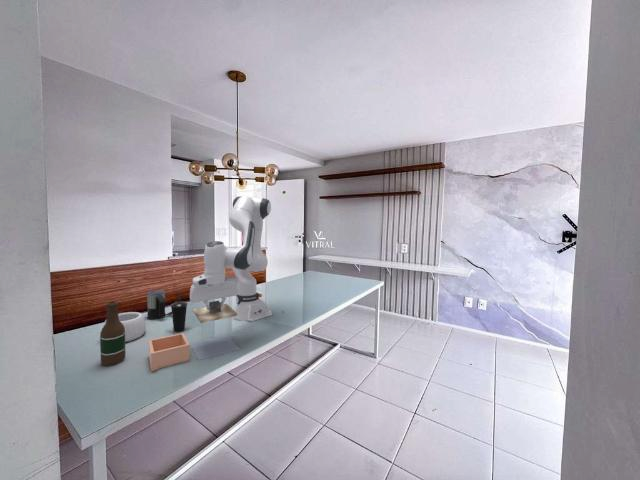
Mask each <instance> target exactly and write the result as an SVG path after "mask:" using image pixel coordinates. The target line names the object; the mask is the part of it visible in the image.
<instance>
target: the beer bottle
mask: <svg viewBox="0 0 640 480" xmlns="http://www.w3.org/2000/svg"><path fill="white" fill-rule="evenodd" d="M118 305H119V303H118V301H109V302H107V303H106V305H105V306H106V319H105V321H106V324H105V326H104V327H103V326H102V328H101V331H100V333H99V334H100V335H99V340H100V341H99V344H100V345H99V347H100V364H101V365H102V366H105V367H110V366H116V365H117V364H120V363H122V362H123V361H124V360H125V358H126V342H125V327H124V325H123V324H122V323H121V322H120V321H119V316H118V314H119V308H118Z"/></svg>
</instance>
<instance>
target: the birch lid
mask: <svg viewBox="0 0 640 480" xmlns="http://www.w3.org/2000/svg"><path fill="white" fill-rule="evenodd" d="M208 305H211V309H209V310H207V309H206V306H205V307H198V308H194V309H192V311H193V313H194V315H195V317H196V318H197V319H198V321H199V322H200V324H204V323H209V322H212V321H214V322H215V321H219V320H223V319H227V318H232V317H233V318H234V316H237V312H236V310H235V309H233V308H232V307H231V306H230V305H229V304H227V303H223V307H221V301H219V300H214V301H213V300H212V301H208Z"/></svg>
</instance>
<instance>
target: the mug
mask: <svg viewBox="0 0 640 480" xmlns="http://www.w3.org/2000/svg"><path fill="white" fill-rule="evenodd" d="M118 316H119V321H120V322H121V323H122V324H123V325H124V327H125V343H128V342H132V341H134V340H137V339H139V338H141V337H142V336H143V335H144V334H145V333H146V329H147V324H146V319H145V317H144V315H143V313H142V312H137V311H136V312H135V311H128V312H120V313H118ZM105 324H106V320H104V323H103V326H102V328H103V327H104V326H105Z"/></svg>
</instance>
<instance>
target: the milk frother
mask: <svg viewBox="0 0 640 480" xmlns="http://www.w3.org/2000/svg"><path fill="white" fill-rule="evenodd" d="M165 294H166V290H164V289H163V290H162V289H158V290H151V291H150V290H149V291H147V292H146V300H147V301H146V302H147V305H146V306H147V317H146V319H148V320H160V319H163V318H165V317H166V316H168V315H169V316H170V315H171V314H172V311H170V312H168V313H166V295H165Z"/></svg>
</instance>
